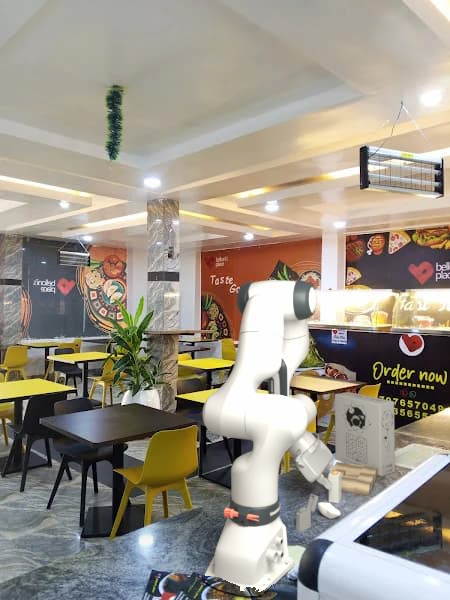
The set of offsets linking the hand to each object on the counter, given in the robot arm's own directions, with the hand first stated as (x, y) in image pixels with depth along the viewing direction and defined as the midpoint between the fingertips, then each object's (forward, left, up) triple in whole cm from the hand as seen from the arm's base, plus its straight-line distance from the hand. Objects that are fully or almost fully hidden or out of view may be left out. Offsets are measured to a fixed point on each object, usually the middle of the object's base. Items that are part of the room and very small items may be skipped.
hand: (334, 481), depth 144 cm
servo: (0, 0, -5) cm, 5 cm away
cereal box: (+34, -3, -6) cm, 35 cm away
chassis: (+16, -2, -5) cm, 17 cm away
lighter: (-20, +3, -6) cm, 21 cm away
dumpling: (-12, -1, -6) cm, 14 cm away
